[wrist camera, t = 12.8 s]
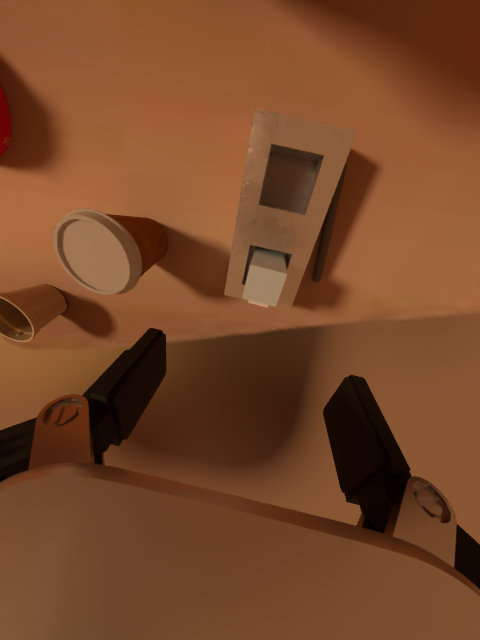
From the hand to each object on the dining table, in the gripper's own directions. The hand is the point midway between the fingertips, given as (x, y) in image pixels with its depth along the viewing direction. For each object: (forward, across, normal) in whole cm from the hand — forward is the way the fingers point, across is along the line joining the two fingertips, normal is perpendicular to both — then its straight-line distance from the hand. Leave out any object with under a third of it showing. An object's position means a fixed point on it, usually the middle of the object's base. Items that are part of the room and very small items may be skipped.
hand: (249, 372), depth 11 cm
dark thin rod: (+24, -8, -5) cm, 26 cm away
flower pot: (+25, +40, +18) cm, 50 cm away
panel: (+24, 0, -4) cm, 25 cm away
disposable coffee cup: (+25, +18, +2) cm, 31 cm away
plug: (+23, 0, +1) cm, 23 cm away
